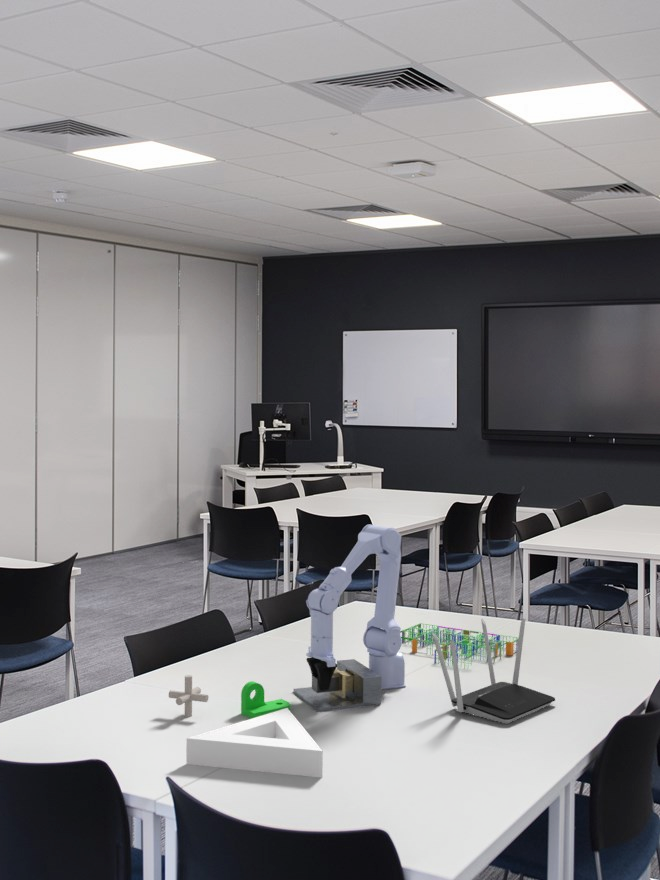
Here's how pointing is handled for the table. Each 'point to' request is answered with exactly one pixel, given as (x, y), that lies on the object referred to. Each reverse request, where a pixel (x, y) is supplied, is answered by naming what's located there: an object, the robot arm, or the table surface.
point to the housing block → (363, 694)
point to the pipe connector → (188, 696)
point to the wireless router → (494, 689)
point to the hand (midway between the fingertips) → (321, 687)
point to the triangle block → (259, 746)
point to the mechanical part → (259, 701)
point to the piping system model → (465, 640)
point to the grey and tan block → (336, 683)
